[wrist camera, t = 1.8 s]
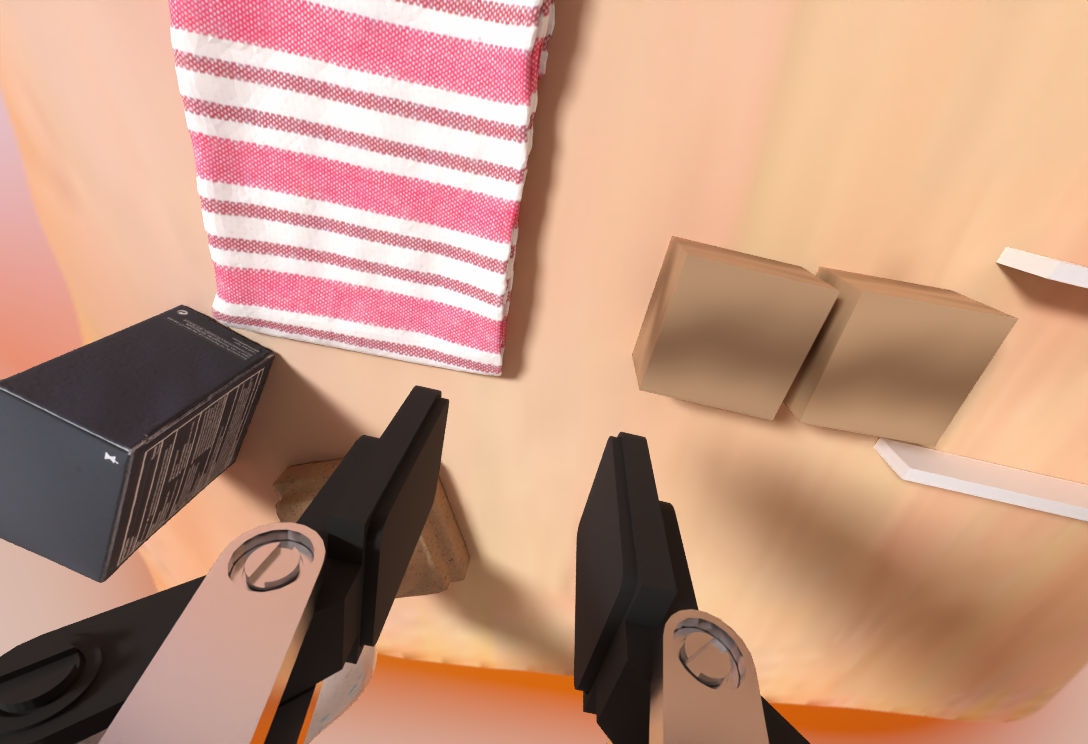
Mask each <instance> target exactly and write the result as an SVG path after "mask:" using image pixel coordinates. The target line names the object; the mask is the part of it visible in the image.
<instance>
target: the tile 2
mask: <svg viewBox="0 0 1088 744" xmlns="http://www.w3.org/2000/svg"><path fill="white" fill-rule="evenodd" d="M816 276H817V277H818V278H820V279H822V280H823V281H825V282H826V283H828V284H830V285H831V286H833V287H834V288H836V289H838V290H839V291H840V293H839V295H838V297H837V299H836V301H835V302H834V304H833V306H832V308H831V310H830V312H829V314H828V316H827V318H826V320H825V322H824V323H823V325H822V327H821V329H820V331H819V333H818V335H817V337H816V339H815V341H814V343H813V344H812V346H811V348H810V350H809V352H808V354H807V356H806V358H805V360H804V362H803V364H802V365H801V367H800V369H799V371H798V373H797V375H796V377H795V379H794V381H793V383H792V385H791V386H790V388H789V390H788V392H787V394H786V396H785V398H784V400H783V401H784V403H785V404H786V405H787V407H788V408H789V409H790V411H791V412H792V413H793V415H794V416H795V418H796V419H797V420H798V422H799V423H805V424H810V425H816V426H822V427H827V428H833V429H838V430H844V431H850V432H855V433H861V434H866V435H872V436H878V437H883V438H889V439H895V440H900V441H906V442H911V443H917V444H923V445H928V446H935V445H936V443H937V442H938V440H939V439H940V437H941V436H942V434H943V433H944V431H945V429H946V428H947V426H948V425H949V423H950V422H951V420H952V419H953V417H954V416H955V414H956V413H957V411H958V410H959V408H960V407H961V405H962V404H963V402H964V401H965V399H966V397H967V396H968V394H969V393H970V391H971V390H972V388H973V387H974V385H975V384H976V382H977V381H978V379H979V378H980V376H981V375H982V373H983V372H984V370H985V369H986V367H987V365H988V364H989V362H990V361H991V359H992V358H993V356H994V355H995V353H996V352H997V350H998V349H999V347H1000V346H1001V344H1002V343H1003V341H1004V340H1005V338H1006V337H1007V335H1008V333H1009V332H1010V330H1011V329H1012V327H1013V326H1014V324H1015V323H1016V321H1017V320H1018V319H1017V318H1015V317H1012V316H1010V315H1008V314H1005V313H1003V312H1001V311H998V310H996V309H994V308H991V307H989V306H987V305H984V304H982V303H980V302H977V301H975V300H973V299H970V298H968V297H966V296H963V295H961V294H959V293H956V292H954V291H951V290H946V289H941V288H935V287H929V286H924V285H918V284H913V283H907V282H902V281H896V280H891V279H885V278H879V277H874V276H868V275H863V274H857V273H852V272H846V271H841V270H835V269H829V268H824V267H819V270H818V272H817V274H816Z"/></svg>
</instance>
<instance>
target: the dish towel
mask: <svg viewBox="0 0 1088 744" xmlns="http://www.w3.org/2000/svg"><path fill="white" fill-rule="evenodd" d="M169 8H170V15H171V29H170V30H171V40H172V46H173V50H174V55H175V61H176V65H175V68H176V73H177V78H178V84H179V89H180V93H181V96H182V98H183V102H184V109H185V116H186V121H187V126H188V129H189V132H190V135H191V139H192V144H193V149H194V155H195V162H196V170H197V177H196V179H197V187H198V192H199V195H200V198H201V203H202V213H203V221H204V226H205V230H206V232H207V235H208V241H209V242H208V244H209V247H210V252H211V258H212V261H213V263H214V267H215V273H216V282H217V292H216V297H215V300H214V303H213V306H212V312H213V316H214V318H215V319H217V320H218V321H219V322H221V323H222V324H223V325H225V326H228V327H233V328H237V329H244V330H248V331H253V332H259V333H263V334H267V335H271V336H276V337H282V338H289V339H294V340H297V341H304V342H310V343H314V344H321V345H325V346H331V347H336V348H342V349H346V350H350V351H356V352H361V353H366V354H371V355H376V356H382V357H386V358H392V359H397V360H402V361H407V362H411V363H418V364H423V365H428V366H435V367H440V368H447V369H452V370H456V371H465V372H471V373H476V374H483V375H494V376H500V375H501V374H502V369H501V367H502V359H503V352H504V349H505V328H506V318H507V315H508V311H509V306H510V294H511V290H512V284H513V277H514V259H515V254H516V243H517V238H518V230H519V229H518V217H519V209H520V202H521V198H522V193H523V186H524V184H525V178H526V174H527V171H528V168H527V163H528V157H529V154H530V151H531V148H532V136H533V135H534V133H533V118H534V115H535V112H536V107H537V102H538V95H537V80H539V78H540V76H542V75H544V74H545V71H546V60H547V58H548V52H547V43H548V40H549V39H550V38H551V36H552V32H553V29H554V26H555V7H554V0H169Z"/></svg>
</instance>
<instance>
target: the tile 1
mask: <svg viewBox="0 0 1088 744" xmlns="http://www.w3.org/2000/svg"><path fill="white" fill-rule="evenodd" d="M839 293H840V291H839V290H838V289H836V288H834V287H833V286H831V285H830V284H828V283H826V282H825V281H823V280H822V279H820V278H818V277H817V276H815V275H813V274H812V273H810V272H809V271H807V270H805V269H804V268H802V267H800V266H796V265H791V264H787V263H783V262H779V261H775V260H770V259H766V258H762V257H758V256H754V255H750V254H745V253H741V252H737V251H733V250H729V249H724V248H720V247H716V246H712V245H708V244H704V243H699V242H695V241H691V240H687V239H683V238H679V237H674V236H672V238H671V241H670V244H669V247H668V250H667V252H666V255H665V258H664V261H663V264H662V267H661V270H660V273H659V276H658V279H657V282H656V285H655V288H654V291H653V294H652V297H651V300H650V303H649V306H648V309H647V312H646V315H645V318H644V321H643V324H642V327H641V330H640V333H639V336H638V339H637V342H636V345H635V348H634V351H633V354H632V356H633V361H634V366H635V371H636V376H637V380H638V385H639V390H642V391H646V392H650V393H655V394H659V395H663V396H668V397H672V398H676V399H681V400H685V401H689V402H694V403H698V404H702V405H707V406H711V407H715V408H720V409H724V410H728V411H733V412H737V413H741V414H746V415H750V416H754V417H759V418H763V419H767V420H772V421H773V419H774V417H775V415H776V413H777V411H778V409H779V407H780V405H781V404H782V402H783V400H784V398H785V396H786V394H787V392H788V390H789V388H790V386H791V385H792V383H793V381H794V379H795V377H796V375H797V373H798V371H799V369H800V367H801V365H802V364H803V362H804V360H805V358H806V356H807V354H808V352H809V350H810V348H811V346H812V344H813V343H814V341H815V339H816V337H817V335H818V333H819V331H820V329H821V327H822V325H823V323H824V322H825V320H826V318H827V316H828V314H829V312H830V310H831V308H832V306H833V304H834V302H835V301H836V299H837V297H838V295H839Z"/></svg>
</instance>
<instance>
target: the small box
mask: <svg viewBox="0 0 1088 744" xmlns="http://www.w3.org/2000/svg"><path fill="white" fill-rule="evenodd" d="M274 356H275V355H274V354H273V353H272V352H270V351H269V350H267V349H266V348H264V347H261V346H259V345H257V344H255V343H253V342H252V341H250V340H248V339H246V338H244V337H242V336H240V335H238V334H236V333H234V332H233V331H231V330H229V329H227V328H225V327H224V326H222V325H220V324H218V323H216V322H214V321H212V320H211V319H210V318H208V317H206V316H204V315H202V314H200V313H198V312H196V311H194V310H192V309H190V308H188V307H186V306H184V305H180V306H177V307H175V308H173V309H171V310H168V311H166V312H164V313H161V314H159V315H157V316H154V317H152V318H149V319H147V320H145V321H142V322H140V323H138V324H135V325H133V326H131V327H128V328H126V329H123V330H121V331H119V332H116V333H114V334H112V335H109V336H107V337H104V338H102V339H100V340H97V341H95V342H93V343H90V344H88V345H85V346H83V347H80V348H78V349H76V350H73V351H71V352H68V353H66V354H64V355H61V356H59V357H57V358H54V359H52V360H49V361H47V362H44V363H42V364H40V365H37V366H35V367H32V368H30V369H28V370H26V371H24V372H21V373H18V374H16V375H14V376H11V377H9V378H6V379H3V380H0V538H2V539H4V540H6V541H8V542H11V543H13V544H15V545H17V546H20V547H22V548H24V549H26V550H28V551H31V552H34V553H36V554H38V555H41V556H43V557H45V558H47V559H50V560H52V561H54V562H56V563H58V564H60V565H62V566H65V567H67V568H69V569H71V570H73V571H75V572H78V573H80V574H82V575H84V576H86V577H88V578H91V579H93V580H95V581H97V582H100V583H102V582H104V581H106V580H107V579H108V578H109V577H110V576H111V575H112V574H113V573H114V572H115V571H116V570H117V569H118V568H119V567H120V566H121V565H122V564H123V563H124V562H125V561H126V560H127V559H128V558H129V557H130V556H131V555H132V554H133V553H134V552H135V551H136V550H137V549H138V548H139V547H140V546H141V545H142V544H143V543H144V542H145V541H147V540H148V539H149V538H150V537H151V536H152V535H153V534H154V533H155V532H156V531H157V530H158V529H160V528H161V527H162V526H163V525H164V524H166V522H167V521H169V520H170V519H171V518H172V517H173V516H174V515H175V514H176V513H178V512H179V511H180V510H181V509H182V508H183V507H184V506H185V505H186V504H187V503H189V502H190V501H191V500H192V499H193V498H194V497H195V496H196V495H197V494H198V493H199V492H201V491H202V490H203V489H204V488H205V487H206V486H207V485H209V484H210V483H211V482H212V481H213V480H214V479H215V478H217V477H218V476H219V475H220V474H221V473H223V472H224V471H225V470H226V469H227V468H228V467H230V466H231V465H232V464H233V463H234V462H235V460H236V457H237V455H238V452H239V450H240V447H241V444H242V442H243V439H244V436H245V434H246V432H247V428H248V426H249V423H250V421H251V418H252V415H253V413H254V410H255V407H256V405H257V402H258V400H259V397H260V394H261V391H262V389H263V386H264V383H265V381H266V378H267V375H268V372H269V369H270V367H271V364H272V361H273V359H274Z"/></svg>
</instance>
